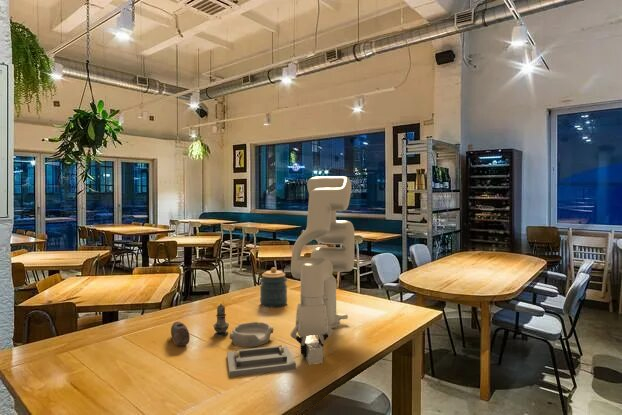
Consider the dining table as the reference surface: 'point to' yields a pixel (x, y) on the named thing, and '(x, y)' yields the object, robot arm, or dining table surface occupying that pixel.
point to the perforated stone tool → (180, 334)
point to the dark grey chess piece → (221, 322)
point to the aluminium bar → (313, 350)
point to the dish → (251, 334)
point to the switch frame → (260, 360)
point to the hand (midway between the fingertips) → (311, 354)
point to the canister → (273, 288)
